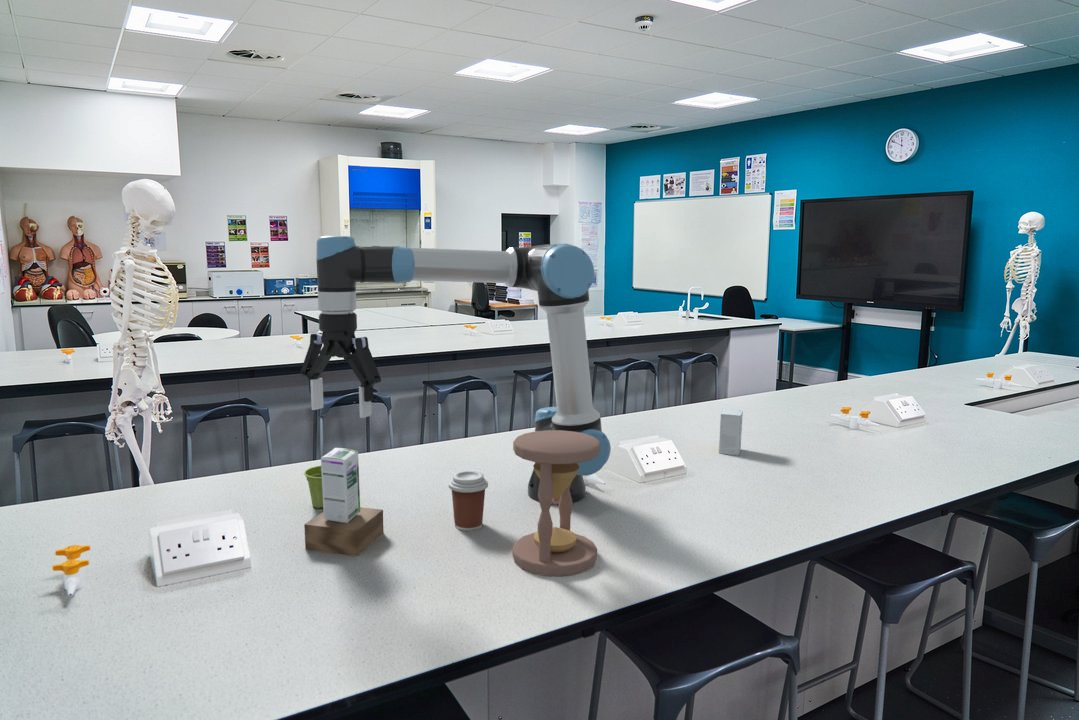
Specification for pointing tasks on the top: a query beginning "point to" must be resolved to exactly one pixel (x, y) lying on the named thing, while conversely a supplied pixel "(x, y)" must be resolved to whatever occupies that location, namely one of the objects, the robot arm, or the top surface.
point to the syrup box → (340, 485)
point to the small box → (730, 431)
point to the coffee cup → (468, 499)
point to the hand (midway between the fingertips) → (341, 412)
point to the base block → (344, 533)
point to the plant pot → (315, 485)
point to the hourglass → (556, 470)
